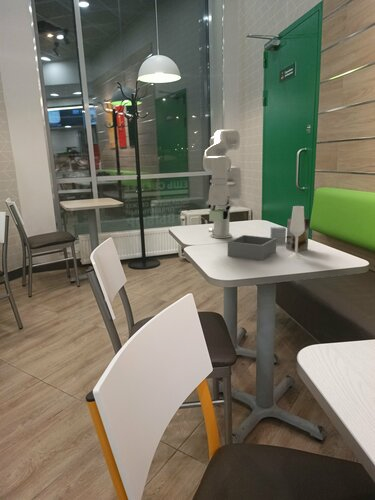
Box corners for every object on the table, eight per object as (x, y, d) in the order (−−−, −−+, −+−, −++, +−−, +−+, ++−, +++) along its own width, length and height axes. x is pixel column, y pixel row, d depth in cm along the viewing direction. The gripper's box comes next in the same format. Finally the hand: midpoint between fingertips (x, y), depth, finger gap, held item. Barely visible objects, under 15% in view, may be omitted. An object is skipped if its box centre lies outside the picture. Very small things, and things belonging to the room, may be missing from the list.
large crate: (227, 256, 174) (227, 241, 172) (243, 248, 189) (243, 235, 187) (261, 260, 164) (262, 245, 163) (276, 252, 179) (276, 238, 177)
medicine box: (284, 241, 201) (284, 226, 199) (285, 243, 197) (286, 228, 195) (270, 241, 202) (270, 226, 200) (271, 243, 198) (271, 228, 195)
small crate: (209, 220, 177) (209, 211, 176) (219, 218, 185) (219, 208, 184) (219, 221, 174) (219, 211, 173) (229, 218, 182) (229, 209, 180)
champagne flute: (304, 255, 171) (307, 206, 165) (301, 259, 166) (304, 207, 160) (290, 254, 175) (292, 205, 169) (286, 257, 169) (289, 207, 163)
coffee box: (292, 251, 179) (293, 220, 175) (285, 248, 185) (287, 218, 181) (308, 249, 182) (310, 218, 178) (301, 247, 188) (302, 217, 184)
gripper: (200, 182, 177) (201, 218, 181) (231, 182, 167) (231, 220, 171) (208, 181, 183) (208, 216, 187) (238, 181, 173) (238, 218, 177)
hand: (219, 218), depth 179 cm, fingers closed on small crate, 6 cm apart
